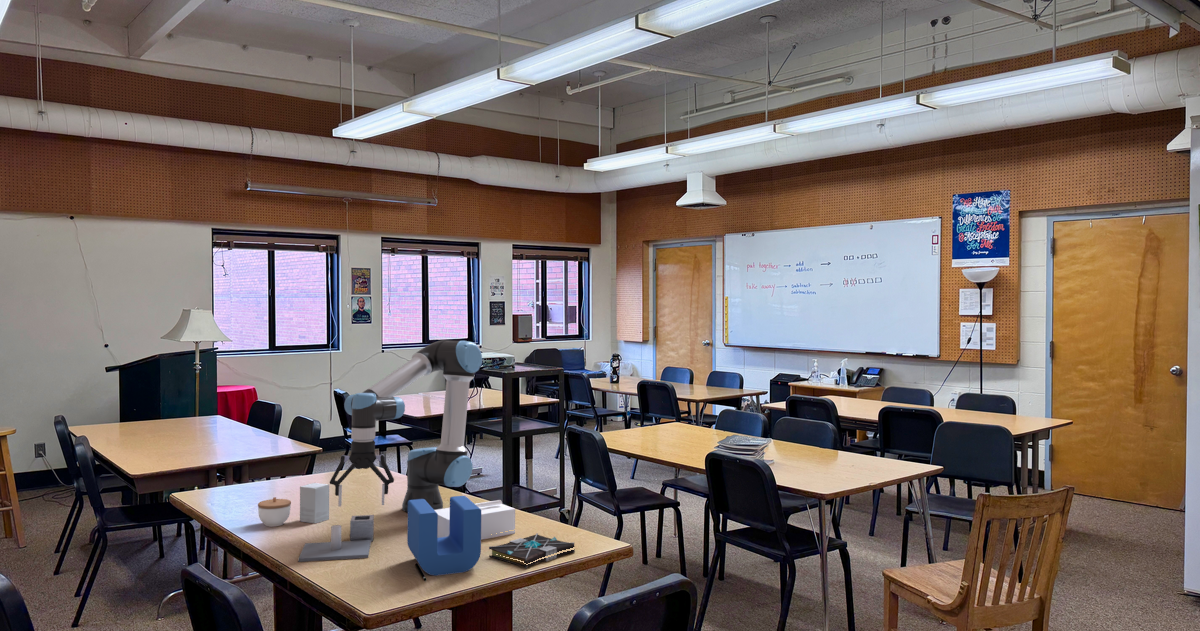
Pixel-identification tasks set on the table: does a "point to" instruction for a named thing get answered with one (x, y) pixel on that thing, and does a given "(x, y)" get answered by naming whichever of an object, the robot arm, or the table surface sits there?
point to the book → (530, 550)
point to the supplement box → (314, 503)
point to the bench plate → (335, 554)
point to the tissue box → (484, 520)
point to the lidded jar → (274, 511)
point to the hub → (362, 528)
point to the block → (445, 551)
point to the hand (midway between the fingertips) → (361, 505)
